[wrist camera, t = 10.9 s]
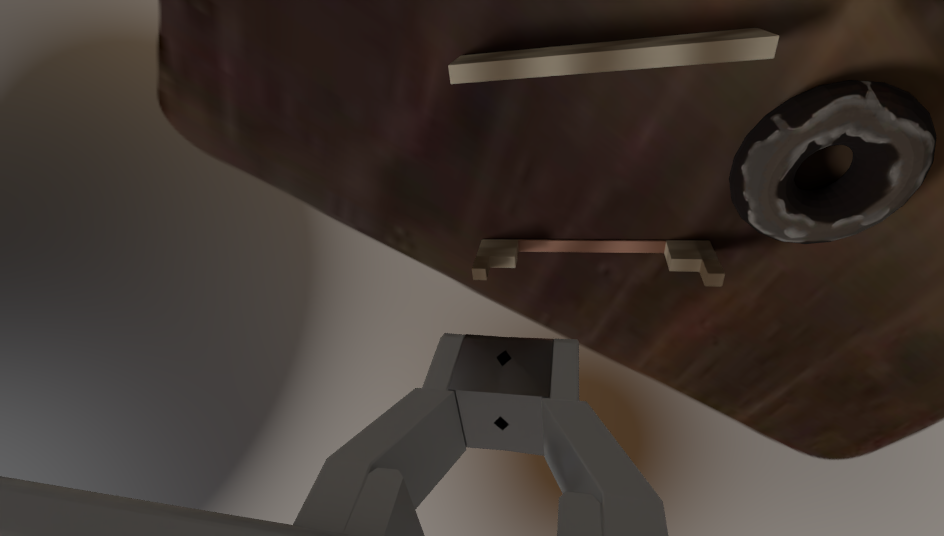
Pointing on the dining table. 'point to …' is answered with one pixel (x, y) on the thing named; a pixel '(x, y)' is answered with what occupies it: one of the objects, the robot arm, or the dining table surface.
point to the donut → (826, 124)
